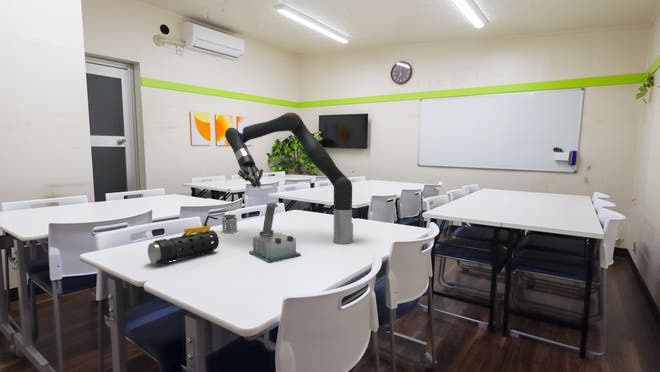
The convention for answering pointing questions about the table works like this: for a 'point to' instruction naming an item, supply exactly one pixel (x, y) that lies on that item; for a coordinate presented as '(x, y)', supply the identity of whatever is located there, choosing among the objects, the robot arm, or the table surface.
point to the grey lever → (269, 218)
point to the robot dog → (198, 228)
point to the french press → (229, 220)
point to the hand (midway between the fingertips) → (257, 186)
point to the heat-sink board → (274, 247)
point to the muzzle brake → (182, 246)
